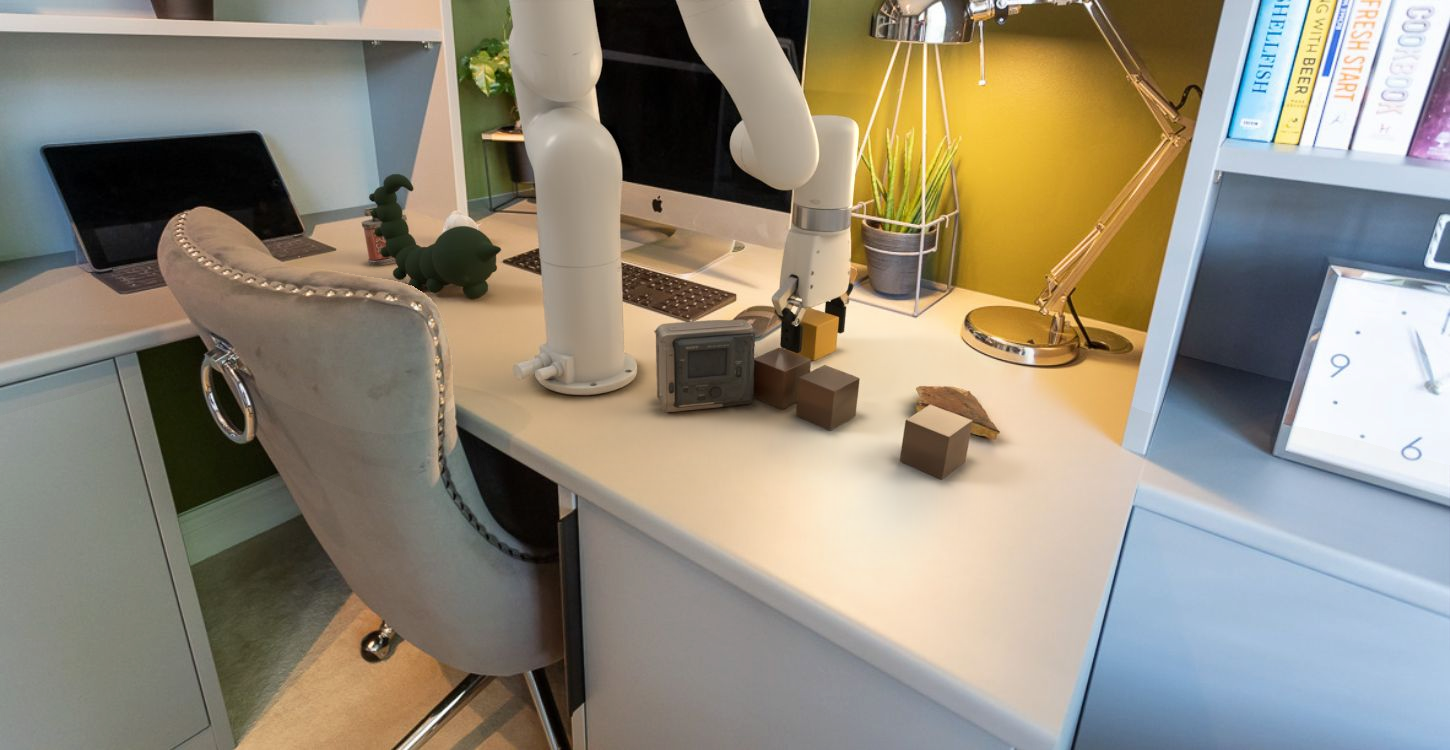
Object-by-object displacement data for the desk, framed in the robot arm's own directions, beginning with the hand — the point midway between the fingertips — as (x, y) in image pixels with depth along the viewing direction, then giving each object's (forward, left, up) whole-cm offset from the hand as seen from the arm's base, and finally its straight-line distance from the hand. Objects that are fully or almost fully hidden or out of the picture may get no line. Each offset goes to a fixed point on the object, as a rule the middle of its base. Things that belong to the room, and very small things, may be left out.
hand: (812, 339), depth 108 cm
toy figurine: (-24, +56, -2) cm, 61 cm away
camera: (-22, -1, -2) cm, 22 cm away
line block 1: (-14, -6, -2) cm, 15 cm away
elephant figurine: (-8, +78, -2) cm, 79 cm away
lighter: (-23, +77, -2) cm, 81 cm away
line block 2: (-14, -13, -2) cm, 19 cm away
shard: (-2, -24, -2) cm, 24 cm away
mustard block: (0, 0, -2) cm, 2 cm away
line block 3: (-14, -27, -2) cm, 30 cm away
